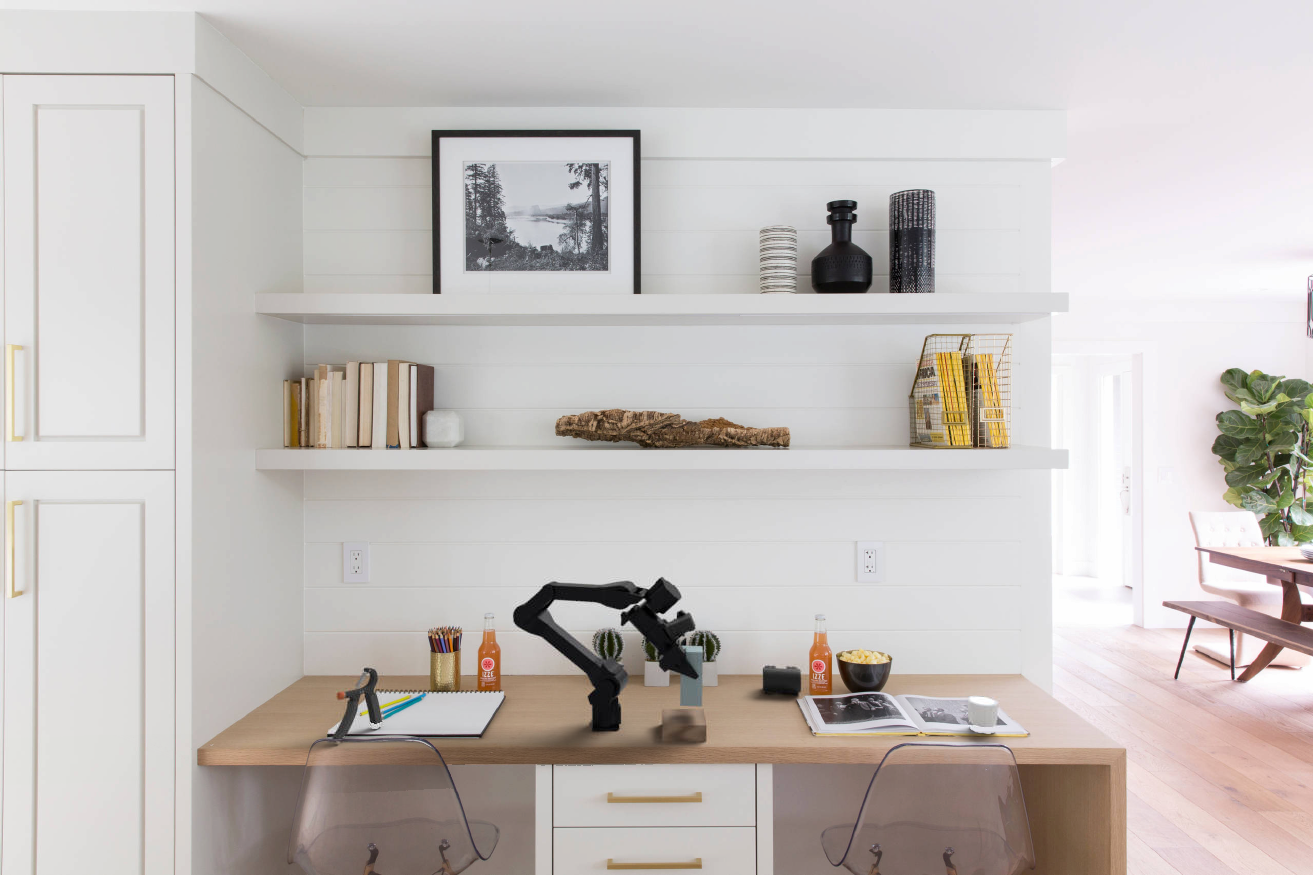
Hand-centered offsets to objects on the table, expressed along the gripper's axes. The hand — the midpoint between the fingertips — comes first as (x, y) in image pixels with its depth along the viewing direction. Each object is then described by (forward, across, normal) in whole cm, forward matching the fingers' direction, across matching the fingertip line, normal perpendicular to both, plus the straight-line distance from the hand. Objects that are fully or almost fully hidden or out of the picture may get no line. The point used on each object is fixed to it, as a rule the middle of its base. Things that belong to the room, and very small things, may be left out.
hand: (697, 674), depth 176 cm
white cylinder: (+56, +4, -39) cm, 68 cm away
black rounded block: (+26, +27, -7) cm, 38 cm away
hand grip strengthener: (-45, -7, +66) cm, 80 cm away
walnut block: (+8, -1, +12) cm, 14 cm away
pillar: (+4, 0, +6) cm, 7 cm away
